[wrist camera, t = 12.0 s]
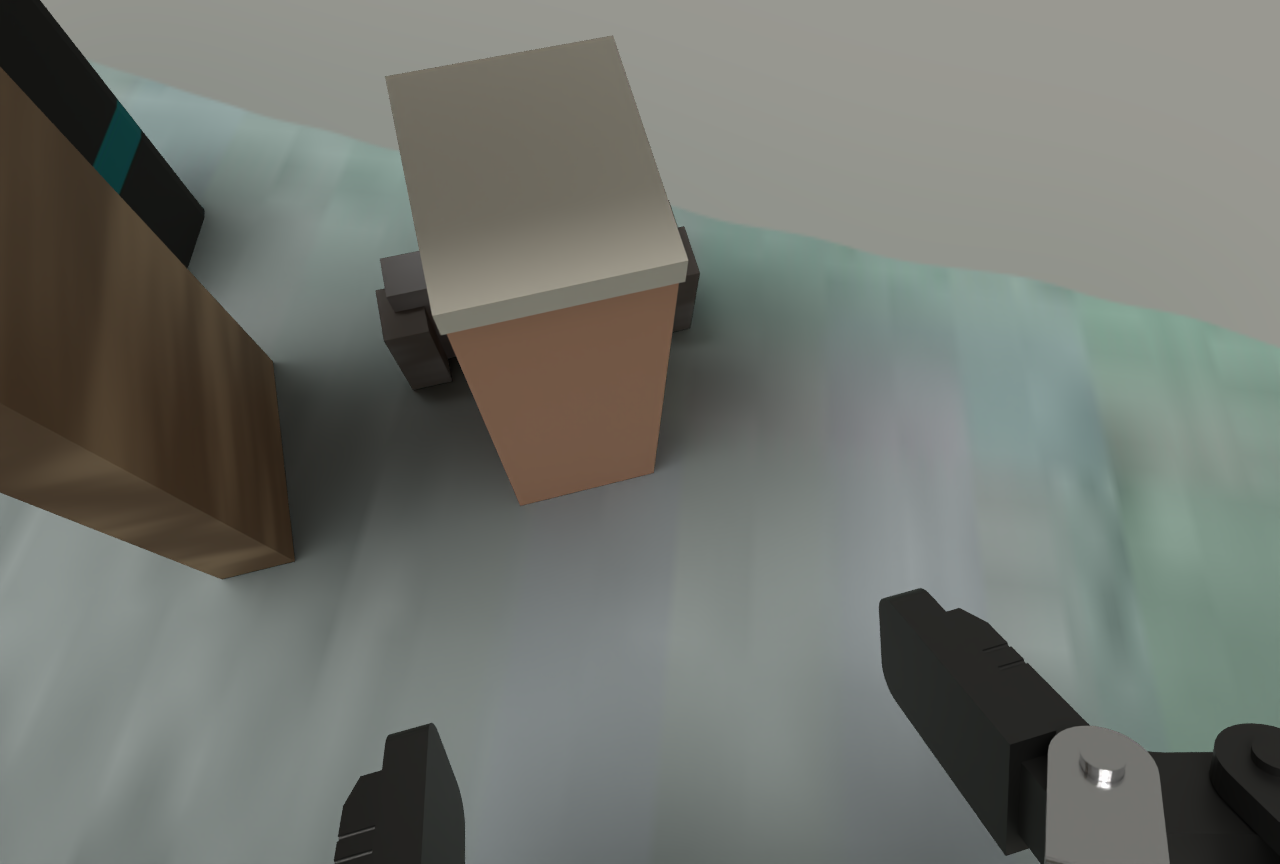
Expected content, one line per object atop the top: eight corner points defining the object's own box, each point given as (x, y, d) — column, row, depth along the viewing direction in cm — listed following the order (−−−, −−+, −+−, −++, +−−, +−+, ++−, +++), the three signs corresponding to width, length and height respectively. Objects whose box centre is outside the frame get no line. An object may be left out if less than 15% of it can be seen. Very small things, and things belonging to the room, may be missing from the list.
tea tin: (518, 508, 29) (432, 315, 15) (485, 359, 31) (385, 76, 17) (656, 474, 29) (688, 260, 16) (615, 330, 31) (612, 35, 18)
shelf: (221, 579, 27) (-1395, -55, 5) (205, 375, 30) (-909, -595, 8) (730, 455, 29) (1059, -363, 8) (673, 275, 32) (791, -710, 10)
